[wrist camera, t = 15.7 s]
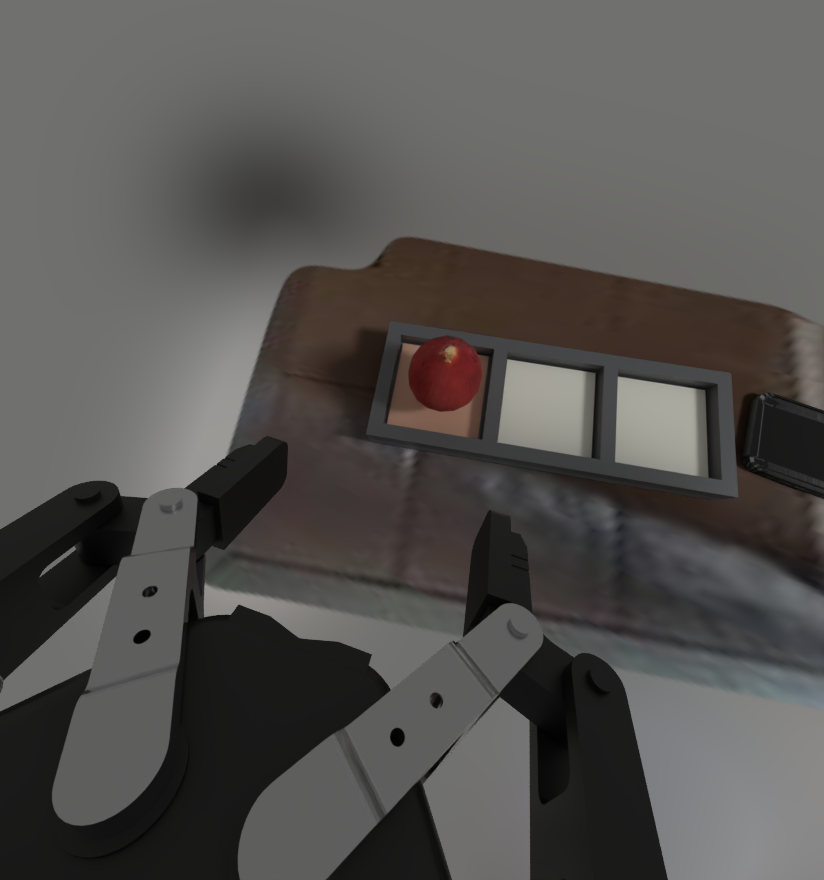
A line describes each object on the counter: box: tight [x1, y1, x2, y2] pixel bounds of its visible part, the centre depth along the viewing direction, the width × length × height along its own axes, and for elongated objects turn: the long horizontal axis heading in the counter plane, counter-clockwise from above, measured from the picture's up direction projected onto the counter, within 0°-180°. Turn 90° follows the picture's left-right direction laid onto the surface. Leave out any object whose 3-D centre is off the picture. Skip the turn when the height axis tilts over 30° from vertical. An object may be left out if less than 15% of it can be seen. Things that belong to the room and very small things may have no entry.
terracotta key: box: [387, 343, 489, 439], centre depth 31 cm, size 8×8×1 cm
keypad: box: [366, 321, 738, 500], centre depth 31 cm, size 30×11×3 cm, turn 80°
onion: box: [408, 335, 482, 412], centre depth 27 cm, size 6×6×8 cm
